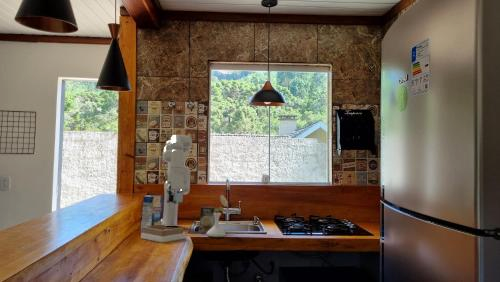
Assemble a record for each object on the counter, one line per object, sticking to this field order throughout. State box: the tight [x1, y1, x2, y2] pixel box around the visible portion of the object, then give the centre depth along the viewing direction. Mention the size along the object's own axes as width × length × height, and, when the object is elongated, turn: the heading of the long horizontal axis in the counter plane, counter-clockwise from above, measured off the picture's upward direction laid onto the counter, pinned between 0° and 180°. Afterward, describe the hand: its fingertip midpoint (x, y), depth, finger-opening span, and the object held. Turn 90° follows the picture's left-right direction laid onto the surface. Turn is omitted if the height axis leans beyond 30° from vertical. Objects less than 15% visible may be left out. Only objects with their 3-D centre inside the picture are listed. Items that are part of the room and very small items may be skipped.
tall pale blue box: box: [166, 193, 184, 204], centre depth 204 cm, size 8×5×6 cm, turn 59°
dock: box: [140, 225, 186, 243], centre depth 194 cm, size 16×18×6 cm
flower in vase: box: [205, 194, 229, 238], centre depth 210 cm, size 13×11×25 cm
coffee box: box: [198, 206, 217, 234], centre depth 222 cm, size 9×6×16 cm
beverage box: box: [140, 194, 164, 235], centre depth 210 cm, size 7×11×22 cm, turn 164°
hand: (174, 201), depth 203 cm, fingers closed on tall pale blue box, 5 cm apart
